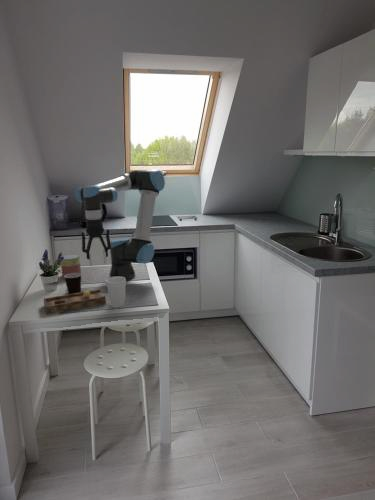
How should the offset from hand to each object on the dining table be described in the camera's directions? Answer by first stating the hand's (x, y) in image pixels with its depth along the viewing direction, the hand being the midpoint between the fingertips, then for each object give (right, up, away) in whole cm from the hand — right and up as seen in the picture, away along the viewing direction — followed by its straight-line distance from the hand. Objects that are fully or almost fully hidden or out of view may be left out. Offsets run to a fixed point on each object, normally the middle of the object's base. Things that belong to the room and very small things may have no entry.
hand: (98, 264), depth 192 cm
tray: (-11, -20, 0) cm, 23 cm away
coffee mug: (-16, -16, +17) cm, 28 cm away
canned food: (-26, -9, +45) cm, 53 cm away
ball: (-6, -15, +1) cm, 16 cm away
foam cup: (+10, -20, -2) cm, 22 cm away
